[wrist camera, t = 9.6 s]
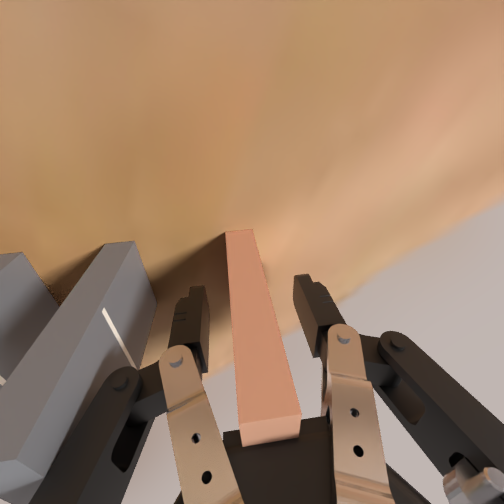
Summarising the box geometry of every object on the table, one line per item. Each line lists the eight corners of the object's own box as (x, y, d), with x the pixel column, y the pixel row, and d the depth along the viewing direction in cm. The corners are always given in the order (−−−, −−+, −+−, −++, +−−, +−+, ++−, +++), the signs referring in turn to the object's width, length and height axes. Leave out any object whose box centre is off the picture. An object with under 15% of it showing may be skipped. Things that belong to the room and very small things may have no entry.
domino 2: (134, 240, 14) (16, 459, 6) (157, 303, 17) (99, 512, 8) (105, 243, 14) (-60, 471, 6) (132, 306, 17) (50, 521, 8)
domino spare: (252, 229, 15) (302, 414, 6) (255, 292, 17) (293, 478, 9) (225, 231, 14) (238, 424, 6) (232, 294, 17) (249, 486, 9)
